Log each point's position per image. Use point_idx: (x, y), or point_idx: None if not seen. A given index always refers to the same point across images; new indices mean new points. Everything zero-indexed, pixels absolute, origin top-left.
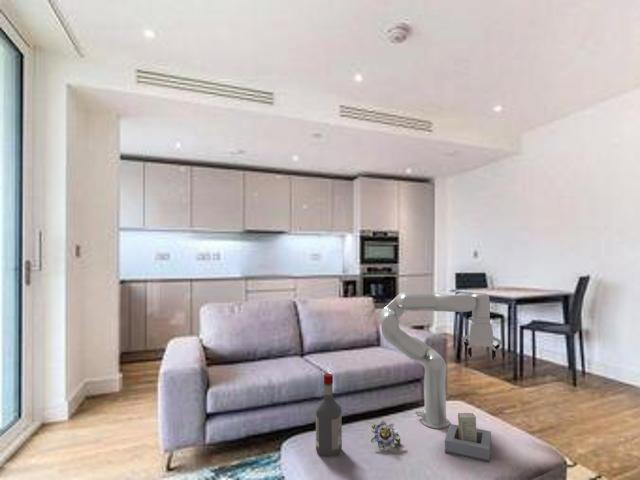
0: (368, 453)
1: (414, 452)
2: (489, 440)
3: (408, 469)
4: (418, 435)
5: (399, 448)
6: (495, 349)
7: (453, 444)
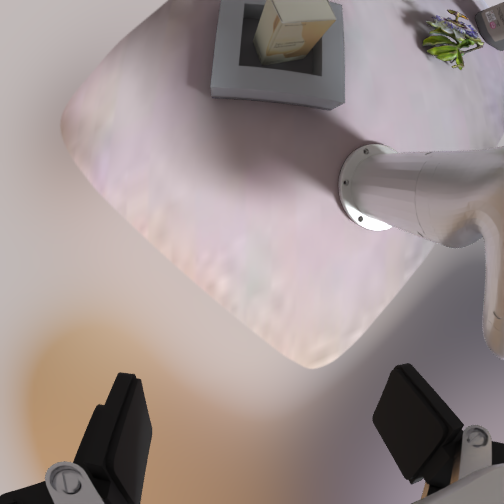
0: None
1: (389, 18)
2: (218, 26)
3: None
4: (403, 95)
5: (417, 33)
6: (59, 481)
7: None
